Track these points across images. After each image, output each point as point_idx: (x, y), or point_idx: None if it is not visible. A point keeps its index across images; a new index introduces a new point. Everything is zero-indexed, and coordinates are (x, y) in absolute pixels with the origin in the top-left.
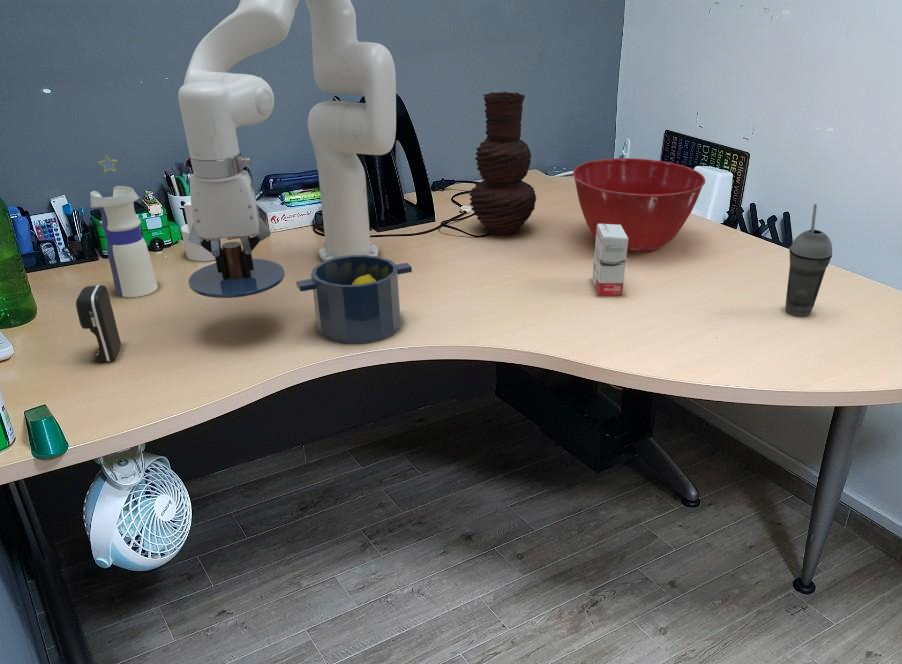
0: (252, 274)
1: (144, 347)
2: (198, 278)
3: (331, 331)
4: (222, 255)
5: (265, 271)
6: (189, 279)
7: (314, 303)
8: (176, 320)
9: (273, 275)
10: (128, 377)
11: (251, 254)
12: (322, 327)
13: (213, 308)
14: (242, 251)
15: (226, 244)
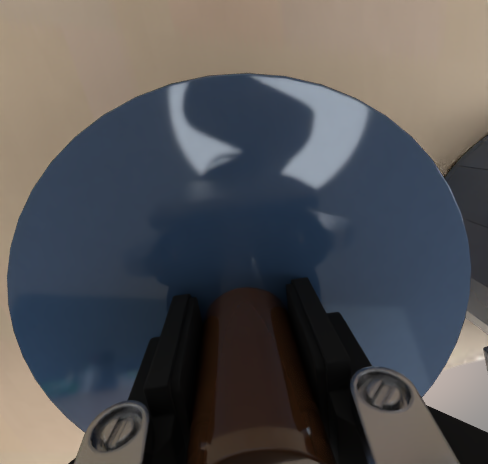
0: None
1: (9, 319)
2: (66, 347)
3: (467, 318)
4: (186, 450)
5: (380, 284)
6: (26, 357)
7: (477, 282)
8: (12, 162)
9: (417, 329)
10: (47, 433)
11: (367, 362)
12: None
13: (94, 70)
14: (319, 393)
15: None
